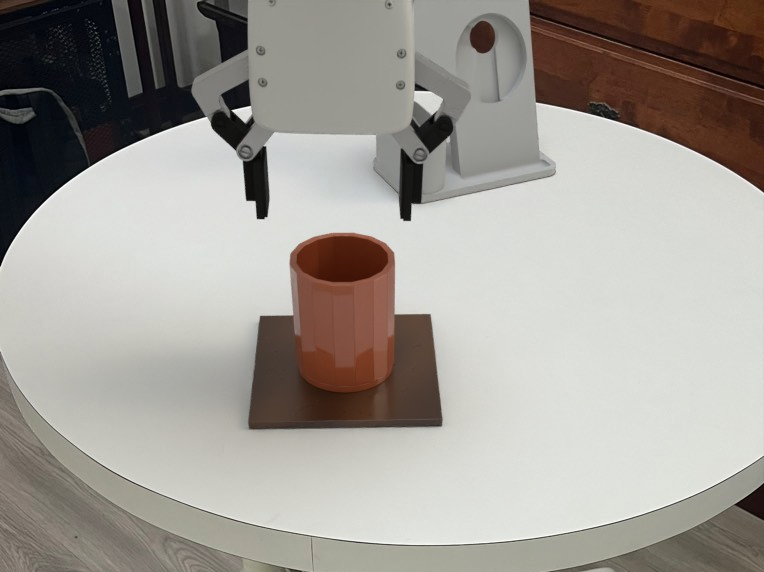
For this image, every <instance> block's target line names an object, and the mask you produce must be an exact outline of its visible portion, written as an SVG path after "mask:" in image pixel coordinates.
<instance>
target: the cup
mask: <svg viewBox="0 0 764 572" xmlns="http://www.w3.org/2000/svg"><path fill="white" fill-rule="evenodd" d="M289 277H290V288H291V289H290V290H291V304H292V315H293V318H294V332H295V345H296V359H297V364H298V370H299V373H300V374H301V376H302V377H303V378H304V379H305V380H306V381H307V382H308V383H310V384H311V385H313V386H315V387H317V388H320V389H323V390H326V391H331V392H340V393H349V392H358V391H363V390H367V389H370V388H373V387H375V386H377V385H379V384H381V383H382V382H383V381H385V380H386V379H387V378H388V377H389V375H390V374H391V372H392V370H393V367H394V331H395V314H396V312H395V311H396V309H395V308H396V256H395V251H393V249H392V248H391V247H390V246H389V245H388V243H386V242H384V241H382V240H380V239H378V238H375V237H374V236H372V235H368V234H367V235H366V234H361V233H357V232H330V233H324V234H319V235H314V236H311V237H310V238H308V239H306V240H304V241H302V242H300V243H298V244H297V245H296V246H295V247H294V249H293V250H292V251H291V252H290V254H289Z"/></svg>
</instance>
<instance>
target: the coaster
mask: <svg viewBox="0 0 764 572" xmlns="http://www.w3.org/2000/svg"><path fill="white" fill-rule="evenodd" d="M434 340H435V339H434V332H433V323H432V314H431V313H395V331H394V367H393V370H392V372H391V374H390V375H389V377H388V378H387V379H386V380H385V381H383V382H382V383H381V384H379V385H377V386H375V387H373V388H370V389H367V390H363V391H358V392H349V393H340V392H331V391H326V390H323V389H320V388H317V387H315V386H313V385H311V384H310V383H308V382H307V381H306V380H305V379H304V378H303V377H302V376H301V374H300V373H299V370H298V364H297V359H296V345H295V332H294V318H293V314H291V315H284V314H283V315H281V314H280V315H259V319H258V328H257V339H256V348H255V357H254V365H253V373H252V374H253V375H252V384H251V393H250V402H249V411H248V421H247V425H248V429H292V428H293V429H298V428H299V429H305V428H308V429H310V428H312V429H313V428H369V427H370V428H371V427H379V428H380V427H439V426H440V427H441V426H443V421H444V420H443V419H444V418H443V412H442V411H443V410H442V402H441V401H442V400H441V393H440V383H439V376H438V365H437V358H436V357H437V356H436V349H435V348H436V347H435V341H434Z"/></svg>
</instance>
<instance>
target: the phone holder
mask: <svg viewBox="0 0 764 572" xmlns="http://www.w3.org/2000/svg"><path fill="white" fill-rule="evenodd" d="M529 3H530V2H529V0H413V5H414V33H415V53H416V54H418V55H420V56H422V57H423V58H425V59H427V60H428V61H430V62H432V63H434V64H435V65H437V66H439V67H440V68H442V69H444V70H446V71H447V72H449V73H451V74H453V75H454V76H456V77H458V78H459V79H461V80H463V81H465V82H466V83H467V84H468V85H469V88H470V92H471V99H470V102H469V103H468V105H467V107H466V108H465V110H464V112H463V113H462V115H461V117H460V118H459V120H458V121H457V122H456V124H455V126H454V127H453V132H452V134H451V135H450V136H449V141H448V142H447V139H445V140H444V141H443V142H442V143H441V144H440V145H439V146H438V147H437V148H436V149H435V150H434V151H432V152H431V153H430V154H429V158H428V160H427V161H426V162H425V163H423V181H422V200H421V203H420V204H427V203H431V202H434V201H435V202H436V201H440V200H444V199H449V198H453V197H458V196H459V197H460V196H463V195H468V194H471V193H472V194H473V193H477V192H481V191H486V190H491V189H496V188H500V187H505V186H510V185H514V184H519V183H523V182H528V181H533V180H537V179H543V178H546V177H551V176H553V175H555V174H556V168H557V163H556V162H555V161H554V160H553V159H552V158H550V157H549V155H546V154H545V153H544V152H542V151H541V150H540V141H539V140H540V139H539V127H538V113H537V101H536V87H535V85H536V84H535V71H534V58H533V43H532V32H531V31H532V30H531V15H530V4H529ZM483 21H484V22H487V23H488V24H489V25H490V26H491V27H492V29H493V32H494V43H493V46H492V47H491V49H489V51H487V52H485V53H481V52H478V51H477V49H476V48H475V47H473V45H472V43H471V32H472V29H473V28H475V26H476V25H477V24H478V23H480V22H483ZM432 115H433V113H431V112H429V110H428V109H426V108H425V107H423V106H422V105H421V104H420V103H419V102H417V101H415V100H414V106H413V114H412V116H413V117H414V118H415V119H416V121H417V122H418V123H419V125H420V126H421V125H422V124H423V123H424V122H425V121H426V120H427V119H428V118H430V117H431V116H432ZM401 148H402V147H401V146H400V145H399V144H398V142H397V141H396V140H395V139H394V137H393V136H392V135H391V134H388V135H375V158H374V159H373V170H374V172H376V173H377V174H378V175H379V176H380V177H381V178H382V179H383V180H384V181H385V182H386V183H388V184H389V185H390V187H392V189H394V191H396V192H397V193H398V194H399V179H400V150H401Z"/></svg>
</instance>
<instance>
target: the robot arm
mask: <svg viewBox="0 0 764 572" xmlns="http://www.w3.org/2000/svg"><path fill="white" fill-rule="evenodd" d="M246 81H248V89H249V90H248V91H249V100H250V109H251V115H250V116H249V117H248V118H247V120H246V121H243V119H241V117H240V116H238V115H237V114H236V113H235V112H234V111H233V110H232V109H231V108H230V107H229V106H227V105H226V102H225V100H224V98H223V96H222V95H223V94H224V93H226V92H228V91H229V90H231V89H233V88H235V87H237V86H239V85H241V84H243V83H245V82H246ZM415 85H418V86H420V87H422V88H424V89H425V90H427V91H428V92H431V93H432V94H434V95H436V96H438V97H439V98H441V99H442V101H441V103H440V106H439V108H438V109H437V110H436V111H435V112H434V113H432V116H431V117H430V118H428V119H427V120H426V121H425V122H424V123H423V124H422V125H421V126H420V125H419V123H418V122H417V121H416V119H415V118H414V117H413V116H412V114H413V106H414V101H415V89H416V88H415ZM191 94H192V97H193V99H194V100H195V101H196V103H197V104H198V106H199V108H200V110H201V111H202V113H203V114H204V116H205V117H206V118H207V120H208V121H209V123H210V127H211V129H212V130H213V131H214V133H215V134H217V135H218V136H219V137H220V138H221V139H222V140H223V141H224V142H225V143H227V145H228V146H230V147H231V148H232V149H233V150H234V151H235V153H236V156H237V157H238V159H239V160H241V161H242V170H243V183H244V195H245V201H246V202H255V214H256V215H255V217H256V220H266V218H268V217H269V209H270V208H269V207H270V200H271V199H270V198H271V197H270V194H271V193H270V181H269V179H270V178H269V165H268V163H269V162H268V150H267V145H266V143H267V142H268V141H269V140H270V139H271V137H272V136H273V135H274V133H276V134H277V133H278V134H290V135H294V134H295V135H333V136H336V135H337V136H338V135H343V136H376V135H388V134H391V135H392V136H393V137H394V139H395V140H396V141H397V142H398V144H399V145H400V146H401V147H402V148H401V150H400V179H399V193H398V207H399V219H400V220H402V222H411V221H412V208H413V204H422V203H421V200H422V181H423V163H425V162H426V161H427V160H428V158H429V154H430V153H431V152H432V151H434V150H435V149H436V148H437V147H438V146H439V145H440V144H441V143H442V142H443V141H444V140H445V139H446V140H447V139H448V138H450V135H451V134H452V132H453V127H454V126H455V124H456V122H457V121H458V120H459V118H460V117H461V115H462V113H463V112H464V110H465V108H466V107H467V105H468V103H469V102H470V99H471V92H470V88H469V85H468V84H467V83H466V82H465V81H463V80H461V79H459V78H458V77H456V76H454V75H453V74H451V73H449V72H447V71H446V70H444V69H442V68H440V67H439V66H437V65H435V64H434V63H432V62H430V61H428V60H427V59H425V58H423V57H422V56H420V55H418V54H416V53H415V33H414V5H413V0H247V49H246V50H244V51H242V52H241V53H238V54H237V55H234V56H233V57H231V58H229V59H227V60H225V61H223V62H222V63H220V64H218V65H216V66H213V67H212V68H210V69H209V70H207V71H205V72H203V73H202V74H200V75H199V74H198V76H196V77H195V78H194V80H193V82H192V86H191Z"/></svg>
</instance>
